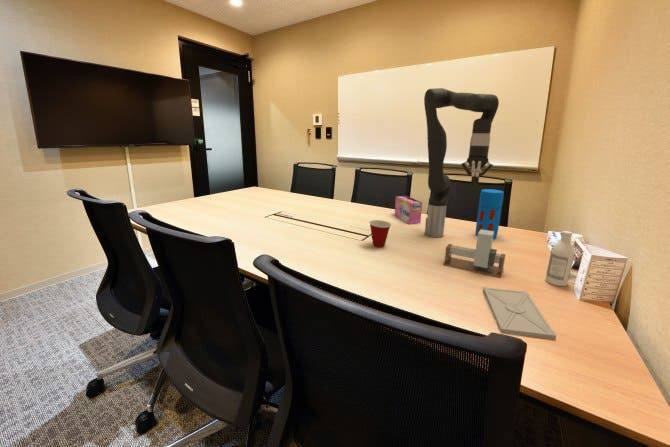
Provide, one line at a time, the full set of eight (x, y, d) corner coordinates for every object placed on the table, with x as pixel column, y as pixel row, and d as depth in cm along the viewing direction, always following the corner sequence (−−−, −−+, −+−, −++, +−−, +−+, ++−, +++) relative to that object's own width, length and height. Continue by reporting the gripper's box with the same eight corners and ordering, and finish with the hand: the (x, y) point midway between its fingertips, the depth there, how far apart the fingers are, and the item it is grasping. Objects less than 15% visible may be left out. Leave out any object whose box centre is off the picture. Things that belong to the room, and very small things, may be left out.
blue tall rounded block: (499, 240, 163) (506, 193, 156) (477, 239, 165) (484, 192, 158) (493, 234, 173) (500, 189, 166) (473, 232, 175) (479, 188, 168)
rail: (443, 265, 133) (444, 248, 130) (448, 258, 140) (450, 242, 138) (500, 277, 121) (503, 260, 119) (503, 269, 128) (506, 252, 126)
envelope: (500, 334, 88) (554, 341, 85) (501, 327, 88) (556, 334, 85) (482, 292, 111) (525, 296, 108) (483, 286, 110) (526, 291, 107)
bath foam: (556, 277, 121) (567, 228, 116) (572, 285, 115) (584, 234, 109) (540, 279, 120) (551, 229, 114) (556, 287, 114) (567, 235, 108)
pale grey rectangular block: (473, 265, 127) (477, 233, 123) (476, 260, 132) (480, 229, 128) (486, 268, 124) (491, 235, 120) (489, 263, 129) (494, 231, 125)
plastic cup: (389, 250, 149) (391, 226, 146) (367, 248, 151) (368, 224, 148) (390, 242, 159) (391, 220, 156) (369, 241, 161) (370, 219, 158)
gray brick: (487, 265, 124) (489, 252, 123) (489, 260, 129) (491, 248, 127) (492, 266, 123) (494, 253, 122) (494, 261, 128) (496, 249, 126)
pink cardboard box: (393, 214, 213) (394, 195, 209) (403, 214, 215) (405, 194, 211) (409, 224, 191) (410, 203, 187) (421, 223, 193) (422, 202, 189)
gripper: (498, 144, 132) (492, 185, 137) (465, 144, 139) (460, 182, 144) (495, 145, 126) (489, 187, 131) (461, 144, 133) (456, 184, 138)
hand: (474, 185), depth 137 cm, fingers closed
